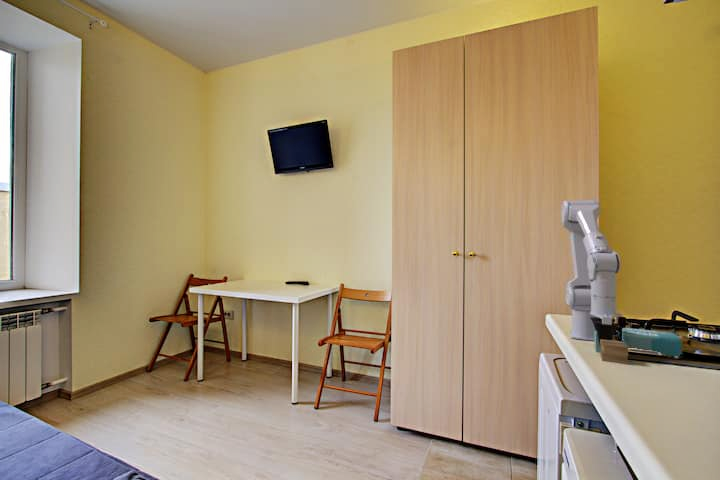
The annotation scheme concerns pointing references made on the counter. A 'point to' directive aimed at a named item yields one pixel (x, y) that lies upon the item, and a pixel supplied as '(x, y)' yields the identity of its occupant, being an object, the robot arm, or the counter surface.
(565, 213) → the robot arm
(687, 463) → the counter surface
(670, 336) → the data package
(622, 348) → the walnut slab upper
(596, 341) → the teal block
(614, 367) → the counter surface
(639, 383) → the counter surface
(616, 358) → the walnut slab lower
